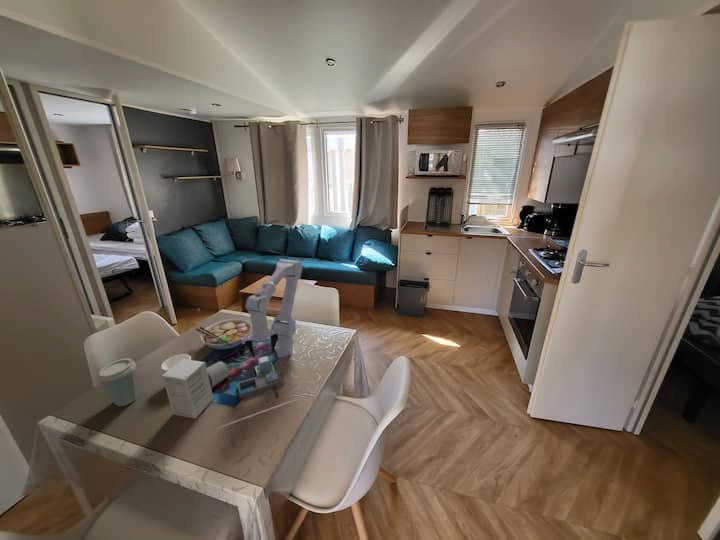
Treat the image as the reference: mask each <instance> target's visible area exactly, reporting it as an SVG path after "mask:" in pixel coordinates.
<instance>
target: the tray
mask: <svg viewBox="0 0 720 540" xmlns="http://www.w3.org/2000/svg"><path fill="white" fill-rule="evenodd" d="M270 368H271V372H274V371H276V369H275V367H274V365H273V361H270ZM254 370H255V373H256V377H258V376H261V374H260V370H259V365H256V366H254ZM271 372H269V373H271ZM266 374H267V373H266ZM263 375H264V374H263Z"/></svg>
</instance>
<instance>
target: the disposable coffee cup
mask: <svg viewBox="0 0 720 540" xmlns="http://www.w3.org/2000/svg"><path fill="white" fill-rule="evenodd" d="M136 368H137V364H136V362H135V360H133V359H132V358H129V357H126V358H121V359H117V360H115V361H113V362H110V363H108V364H107V365H105V366H103V367H102V368H101V369H100V370H99V372H98V373H97V374H96V375H97V381H99V383H100V384H101V385H102V387H103V389H104V391H105V392H106V393H107V394H108V396H109V397H110V399H111V400H112V402H113V403H114V405H116V406H117V407H124V406H127V405H129V404H132V403H133V402H134V401H135V400H136V399H137V398H138V395H139V390H138V382H137V380H138V379H137V371H136V370H137V369H136Z"/></svg>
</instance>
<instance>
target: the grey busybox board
mask: <svg viewBox="0 0 720 540" xmlns="http://www.w3.org/2000/svg"><path fill="white" fill-rule="evenodd" d="M252 384H255V387H256V388H253V389H249V390H246V391H243V392H242V391H241V388H242V387H244V386H245V387H246V386H248V385H252ZM283 385H284V380H283V377H282V374H281V372H280V370H279V369H278V370H275V371H274V372H271V373H267V374H264V375H261V376H258V377H257V376H254V377H252V378H249V379H246V380H242V381H238V382H237V390H238V396H239V400H242V399H244V398H247V397H250V396H254V395H257V394H259V393H262V392H266V391H269V390H271V389H273V392H274V396H275V398H276V399H277V398H279V394H278V389H277V388H278V387H280V386H283Z"/></svg>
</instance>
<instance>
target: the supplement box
mask: <svg viewBox="0 0 720 540" xmlns="http://www.w3.org/2000/svg"><path fill="white" fill-rule="evenodd" d="M206 368H207V365H206V361H199V360H193V359H191V360H187V359H183V360H181V361H180V362H179V363H177V364H176V365H175V366H174V367H172V368H171V369H170V370H168V371H167V372H166V373H165V374H164V373H163V374H162V375H161V377H162V382H163V384H164V388H165V390H166V391H165V392H166V393H167V397H168V401H169V405H170V407H171V411H172V414H173V415H175V416H180V417H184V418H190V419H197V418H198V417H199V415H201V413H202V412H203V411H204V410H205V409H206V408H207V407H208V406H209V405H210V403H212V402H213V399H214V396H213V391H212V388H211V386H210V382H209V377H208V373H207V369H206Z"/></svg>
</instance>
